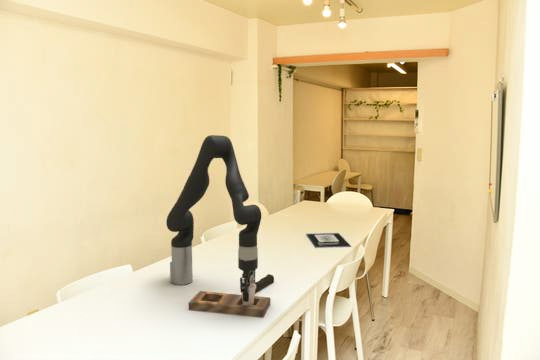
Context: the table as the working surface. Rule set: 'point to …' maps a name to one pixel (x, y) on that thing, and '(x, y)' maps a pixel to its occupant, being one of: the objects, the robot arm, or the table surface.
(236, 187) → the robot arm
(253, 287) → the smoothie
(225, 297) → the wooden tray
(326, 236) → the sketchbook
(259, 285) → the hand tool
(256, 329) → the table surface
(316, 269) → the table surface
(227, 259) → the table surface
